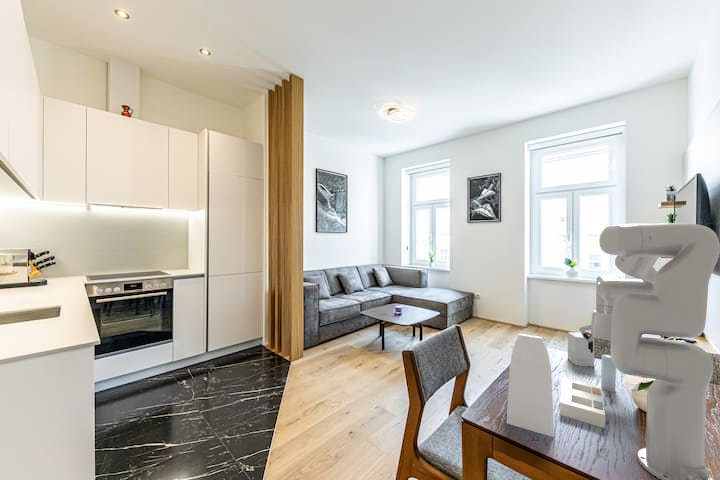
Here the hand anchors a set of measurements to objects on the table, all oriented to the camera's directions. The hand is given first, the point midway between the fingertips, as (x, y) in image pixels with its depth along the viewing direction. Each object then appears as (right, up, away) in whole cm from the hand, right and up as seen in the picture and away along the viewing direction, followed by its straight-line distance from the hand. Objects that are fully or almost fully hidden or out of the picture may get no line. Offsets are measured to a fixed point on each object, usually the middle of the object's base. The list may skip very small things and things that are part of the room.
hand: (608, 354), depth 108 cm
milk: (-40, -13, -18) cm, 46 cm away
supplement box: (+6, -12, +22) cm, 26 cm away
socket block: (-18, -13, -11) cm, 25 cm away
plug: (0, -13, 0) cm, 13 cm away
